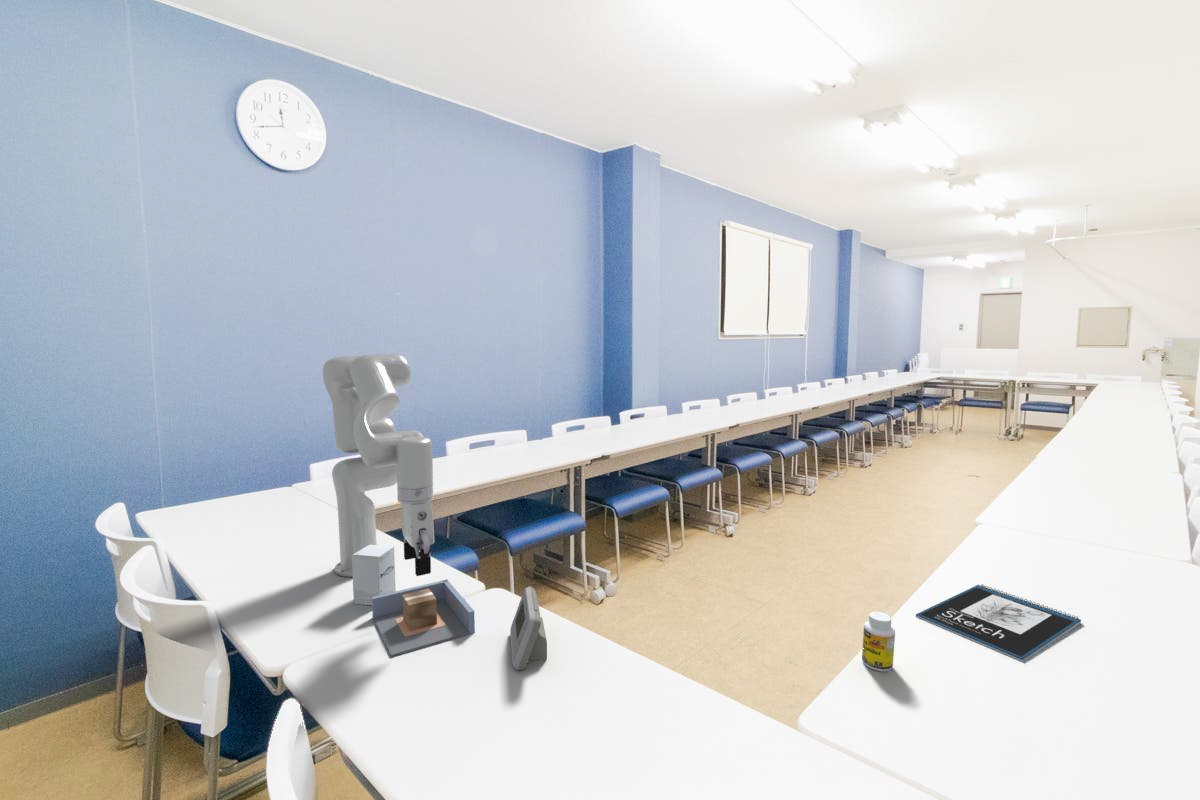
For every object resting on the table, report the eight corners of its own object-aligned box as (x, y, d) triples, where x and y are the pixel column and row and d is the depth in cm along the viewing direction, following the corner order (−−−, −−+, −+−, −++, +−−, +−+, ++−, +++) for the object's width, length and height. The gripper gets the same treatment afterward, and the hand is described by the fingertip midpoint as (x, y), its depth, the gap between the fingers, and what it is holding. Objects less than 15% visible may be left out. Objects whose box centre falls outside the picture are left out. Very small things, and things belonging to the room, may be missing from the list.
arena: (372, 617, 129) (371, 597, 129) (447, 598, 139) (447, 579, 138) (391, 657, 113) (390, 633, 113) (474, 632, 123) (474, 610, 122)
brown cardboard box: (429, 613, 130) (428, 588, 130) (437, 623, 125) (436, 598, 125) (403, 619, 127) (402, 594, 126) (409, 631, 122) (408, 605, 121)
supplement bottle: (855, 660, 112) (858, 612, 111) (874, 654, 115) (877, 607, 114) (879, 675, 107) (882, 625, 106) (899, 668, 110) (902, 619, 108)
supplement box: (380, 607, 135) (377, 556, 133) (352, 604, 136) (350, 554, 135) (396, 593, 142) (395, 545, 140) (370, 590, 143) (368, 543, 142)
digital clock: (511, 630, 124) (511, 584, 123) (552, 630, 124) (551, 584, 123) (498, 673, 108) (497, 621, 107) (544, 673, 108) (544, 621, 107)
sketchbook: (915, 619, 130) (915, 611, 130) (979, 589, 146) (979, 582, 146) (1022, 664, 112) (1023, 654, 112) (1082, 624, 128) (1083, 616, 127)
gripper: (444, 500, 118) (445, 577, 120) (421, 480, 132) (423, 549, 134) (408, 506, 114) (410, 585, 116) (388, 485, 128) (391, 555, 130)
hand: (417, 566), depth 125 cm, fingers open, 9 cm apart
